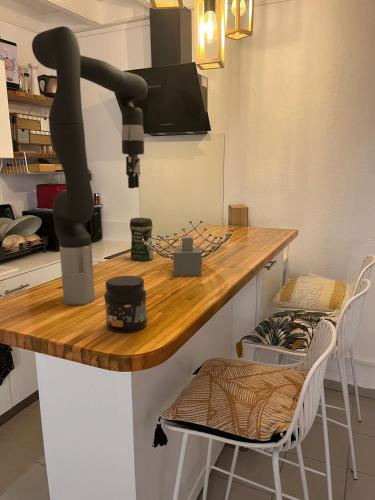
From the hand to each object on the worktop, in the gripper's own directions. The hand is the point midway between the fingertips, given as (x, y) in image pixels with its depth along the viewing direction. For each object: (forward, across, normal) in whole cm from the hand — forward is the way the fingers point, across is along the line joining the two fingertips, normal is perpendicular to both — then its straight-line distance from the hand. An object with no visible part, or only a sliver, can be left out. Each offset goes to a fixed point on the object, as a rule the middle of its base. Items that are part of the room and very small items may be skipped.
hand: (133, 187), depth 138 cm
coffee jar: (+32, -31, -2) cm, 45 cm away
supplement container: (+34, +44, +5) cm, 55 cm away
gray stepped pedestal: (+32, -8, +19) cm, 38 cm away
